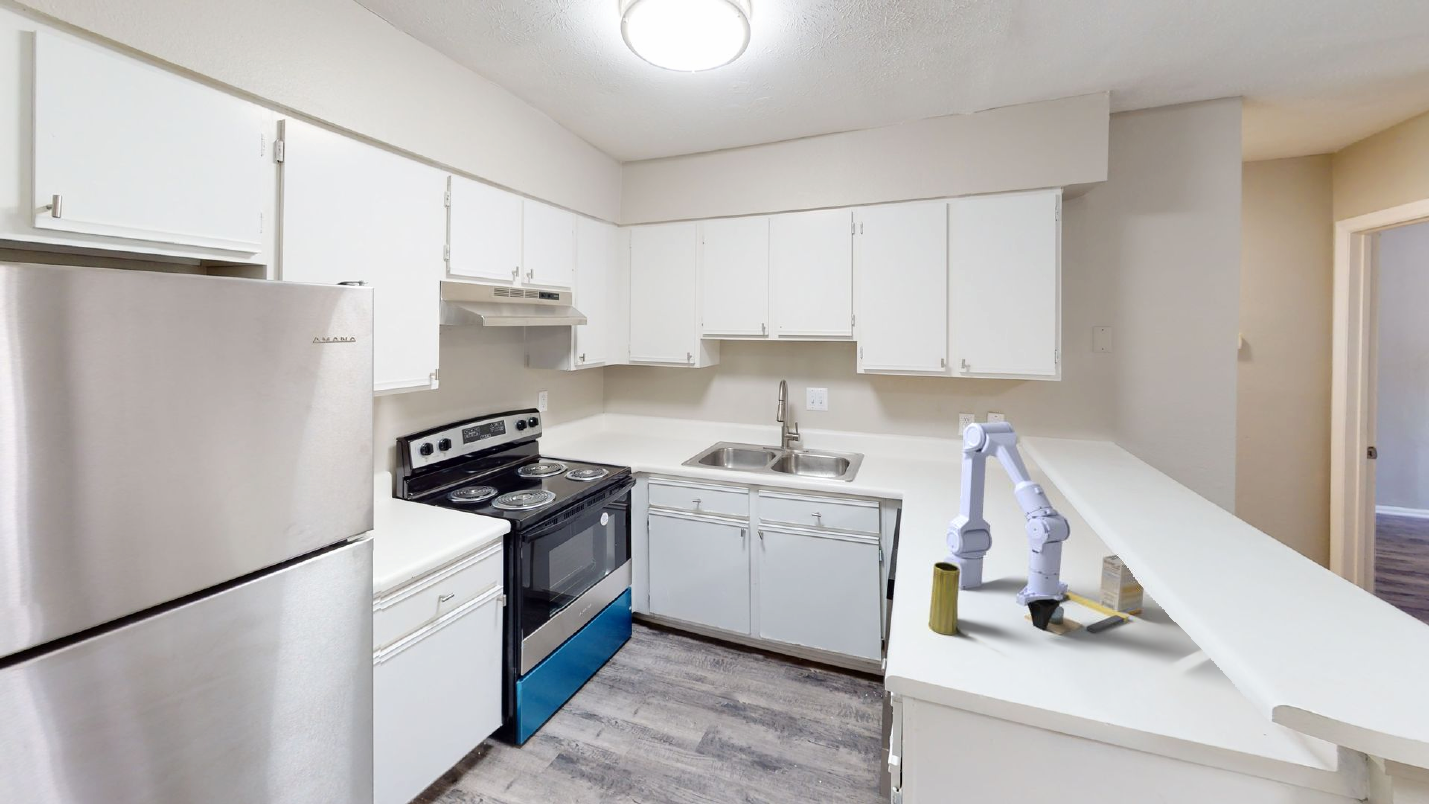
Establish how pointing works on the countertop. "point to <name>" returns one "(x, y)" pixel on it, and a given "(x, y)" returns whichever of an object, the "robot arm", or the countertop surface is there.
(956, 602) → the vase
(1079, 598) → the frame
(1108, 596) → the supplement box
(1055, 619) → the steel cylinder puck
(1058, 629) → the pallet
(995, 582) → the countertop surface
